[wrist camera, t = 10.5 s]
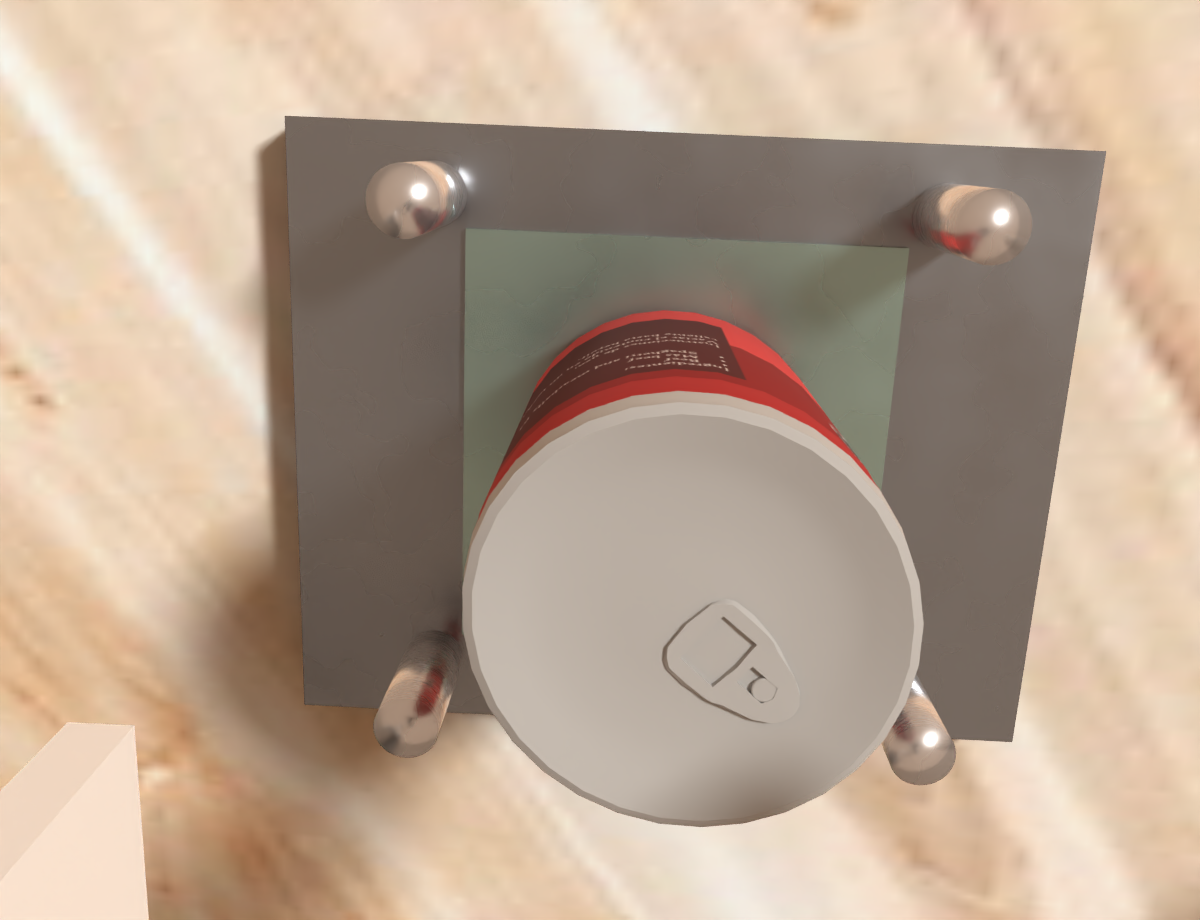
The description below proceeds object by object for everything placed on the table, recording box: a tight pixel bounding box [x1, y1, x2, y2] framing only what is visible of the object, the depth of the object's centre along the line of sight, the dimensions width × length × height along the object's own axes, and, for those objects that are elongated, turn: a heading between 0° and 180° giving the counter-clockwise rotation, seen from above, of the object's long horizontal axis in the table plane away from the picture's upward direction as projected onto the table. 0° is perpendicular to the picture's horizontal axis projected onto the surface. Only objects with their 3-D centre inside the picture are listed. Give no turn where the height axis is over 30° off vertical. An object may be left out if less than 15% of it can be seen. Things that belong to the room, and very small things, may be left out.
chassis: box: [285, 116, 1106, 785], centre depth 28 cm, size 20×16×6 cm
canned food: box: [462, 310, 924, 827], centre depth 24 cm, size 8×8×11 cm
